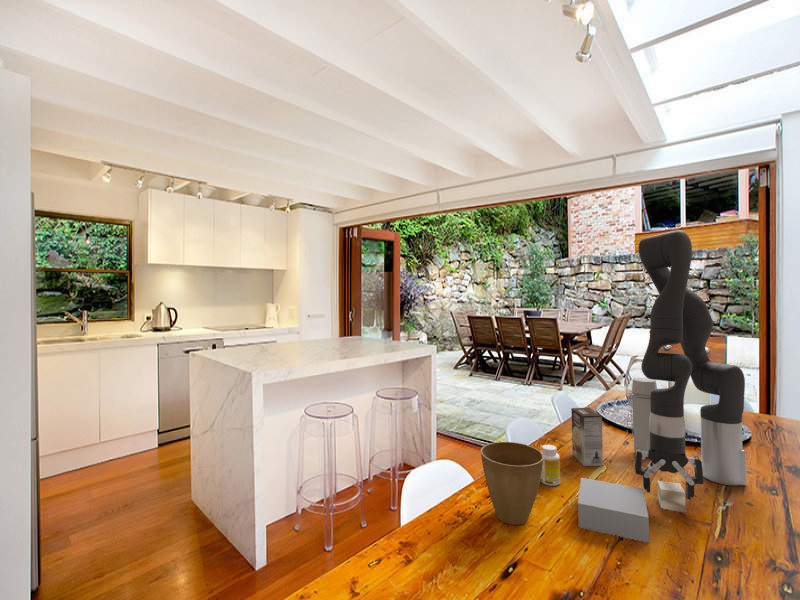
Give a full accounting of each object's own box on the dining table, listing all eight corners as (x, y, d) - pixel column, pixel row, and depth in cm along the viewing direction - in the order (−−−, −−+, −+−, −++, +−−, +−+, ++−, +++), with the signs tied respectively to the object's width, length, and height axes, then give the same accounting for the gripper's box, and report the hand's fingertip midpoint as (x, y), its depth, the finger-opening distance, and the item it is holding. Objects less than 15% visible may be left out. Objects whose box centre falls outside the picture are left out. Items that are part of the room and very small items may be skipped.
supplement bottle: (564, 483, 111) (563, 448, 111) (550, 488, 109) (549, 452, 109) (549, 476, 116) (548, 442, 116) (535, 480, 114) (534, 445, 114)
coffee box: (571, 454, 131) (570, 407, 131) (590, 454, 131) (589, 406, 131) (583, 466, 122) (582, 415, 122) (604, 466, 122) (603, 415, 122)
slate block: (643, 512, 97) (642, 488, 96) (649, 544, 84) (648, 517, 84) (581, 500, 103) (581, 477, 103) (578, 528, 91) (577, 503, 91)
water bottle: (659, 452, 131) (657, 378, 131) (659, 460, 124) (657, 383, 124) (627, 447, 136) (625, 376, 136) (626, 455, 129) (624, 380, 129)
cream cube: (680, 503, 100) (680, 483, 100) (685, 513, 95) (685, 492, 95) (657, 499, 102) (657, 480, 102) (661, 509, 97) (660, 489, 97)
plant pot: (512, 542, 86) (510, 470, 86) (470, 510, 99) (468, 448, 99) (559, 522, 93) (557, 456, 92) (514, 495, 106) (512, 437, 106)
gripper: (697, 430, 99) (698, 493, 99) (633, 423, 105) (633, 482, 105) (705, 440, 92) (706, 508, 92) (636, 432, 99) (636, 495, 99)
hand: (667, 494), depth 99 cm, fingers open, 8 cm apart
